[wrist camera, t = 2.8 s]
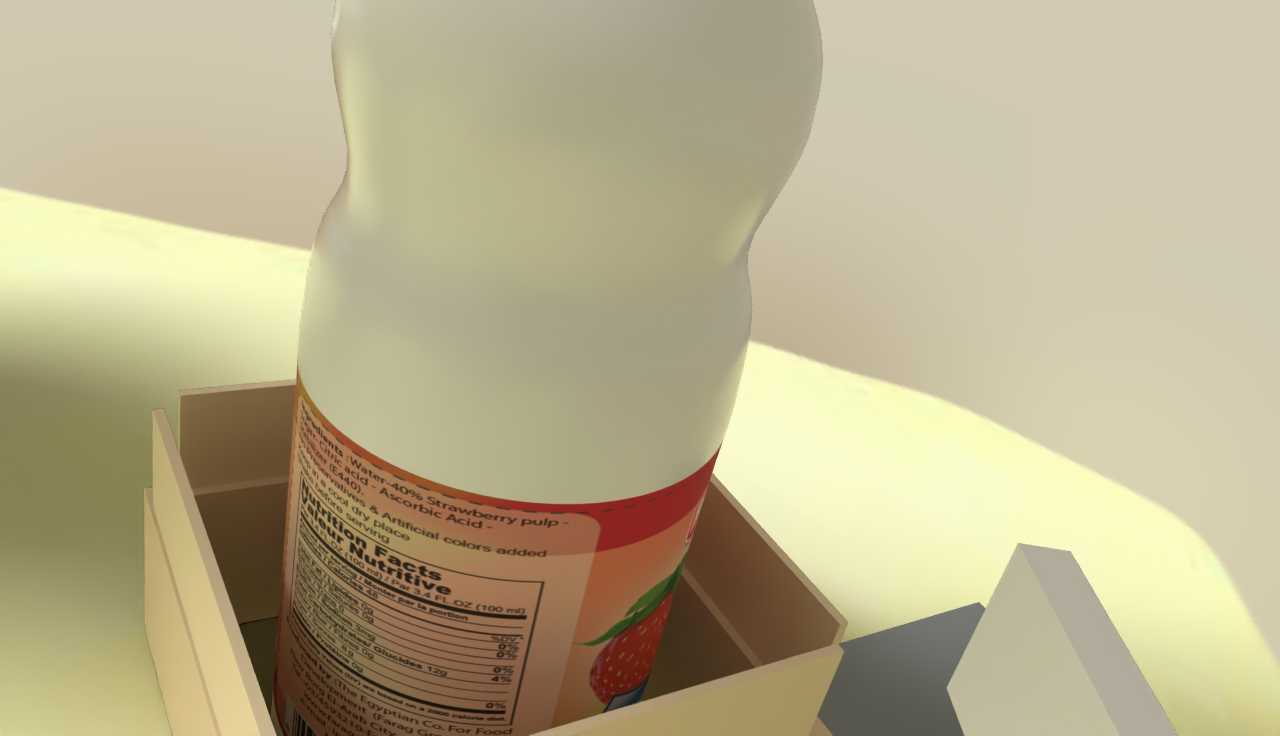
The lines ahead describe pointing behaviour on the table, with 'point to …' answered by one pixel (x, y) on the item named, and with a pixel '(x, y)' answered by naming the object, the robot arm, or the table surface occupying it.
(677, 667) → the carton
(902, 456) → the table surface
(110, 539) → the table surface
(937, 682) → the coaster
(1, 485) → the table surface
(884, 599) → the table surface
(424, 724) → the fruit juice
